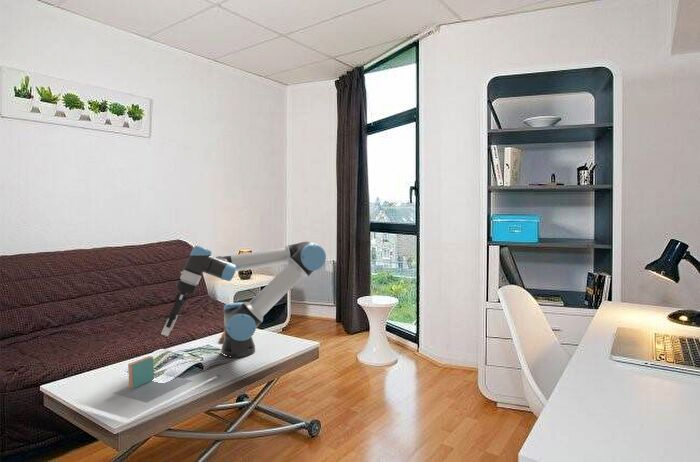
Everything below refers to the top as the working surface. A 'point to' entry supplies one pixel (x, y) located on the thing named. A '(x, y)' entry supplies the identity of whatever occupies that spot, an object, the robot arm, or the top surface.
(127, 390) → the board
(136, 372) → the tile
